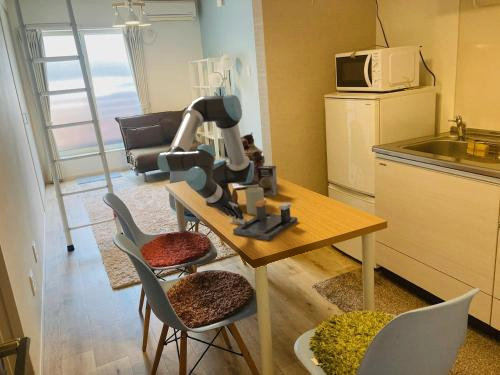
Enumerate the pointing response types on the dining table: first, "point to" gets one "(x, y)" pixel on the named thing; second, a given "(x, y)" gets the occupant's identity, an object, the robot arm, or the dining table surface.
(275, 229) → the dark grey stand
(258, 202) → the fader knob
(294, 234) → the dining table surface
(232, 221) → the hand bell
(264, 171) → the coffee box
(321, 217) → the dining table surface
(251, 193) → the can
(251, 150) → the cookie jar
